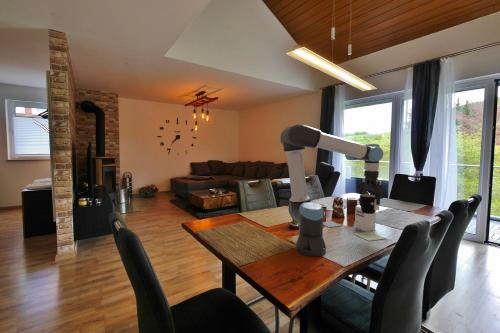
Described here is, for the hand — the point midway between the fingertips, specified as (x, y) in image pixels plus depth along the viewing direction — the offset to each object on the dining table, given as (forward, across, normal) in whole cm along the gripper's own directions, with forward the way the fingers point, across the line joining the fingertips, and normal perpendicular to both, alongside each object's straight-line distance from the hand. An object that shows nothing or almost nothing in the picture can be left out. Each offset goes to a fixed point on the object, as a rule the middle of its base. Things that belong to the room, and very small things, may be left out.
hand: (370, 208), depth 139 cm
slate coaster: (+17, +26, +8) cm, 32 cm away
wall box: (+17, +13, -9) cm, 23 cm away
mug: (+3, 0, 0) cm, 3 cm away
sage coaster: (+17, 0, 0) cm, 17 cm away
